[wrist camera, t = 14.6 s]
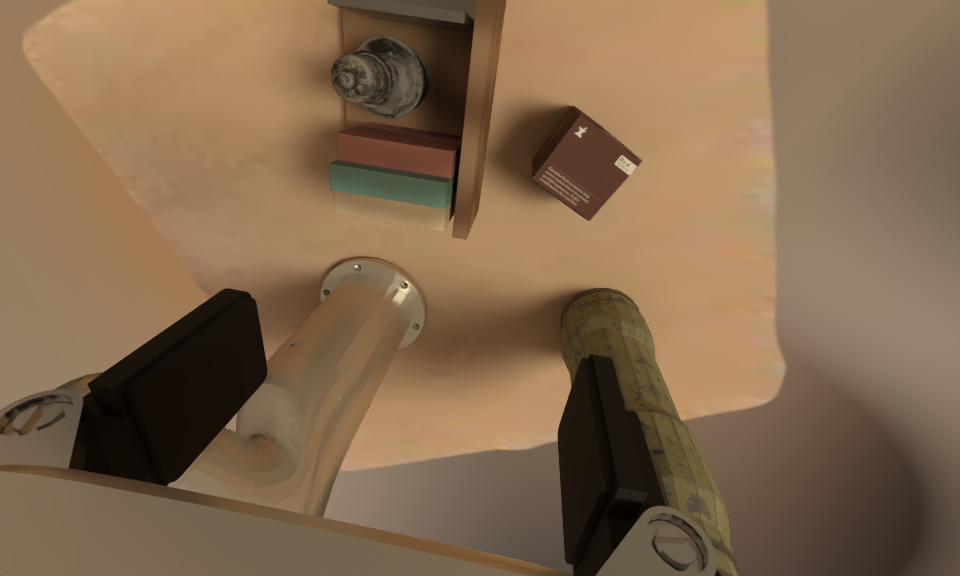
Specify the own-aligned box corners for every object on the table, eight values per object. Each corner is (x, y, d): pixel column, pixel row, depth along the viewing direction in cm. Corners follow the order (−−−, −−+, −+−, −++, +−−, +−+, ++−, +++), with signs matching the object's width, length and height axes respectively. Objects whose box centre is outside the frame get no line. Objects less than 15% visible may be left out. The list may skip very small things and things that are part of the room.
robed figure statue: (576, 370, 48) (646, 878, 18) (545, 289, 44) (568, 792, 13) (651, 353, 46) (881, 909, 15) (627, 265, 41) (890, 816, 11)
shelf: (478, 210, 40) (462, 248, 32) (352, 189, 41) (302, 221, 32) (511, -38, 31) (501, -82, 22) (345, -61, 31) (272, -113, 23)
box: (530, 161, 38) (529, 179, 31) (572, 103, 35) (581, 110, 28) (580, 198, 39) (589, 223, 32) (625, 145, 36) (644, 161, 30)
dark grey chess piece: (399, 129, 37) (344, 151, 26) (353, 72, 35) (275, 71, 24) (446, 84, 34) (408, 88, 24) (400, 21, 33) (336, -5, 22)
